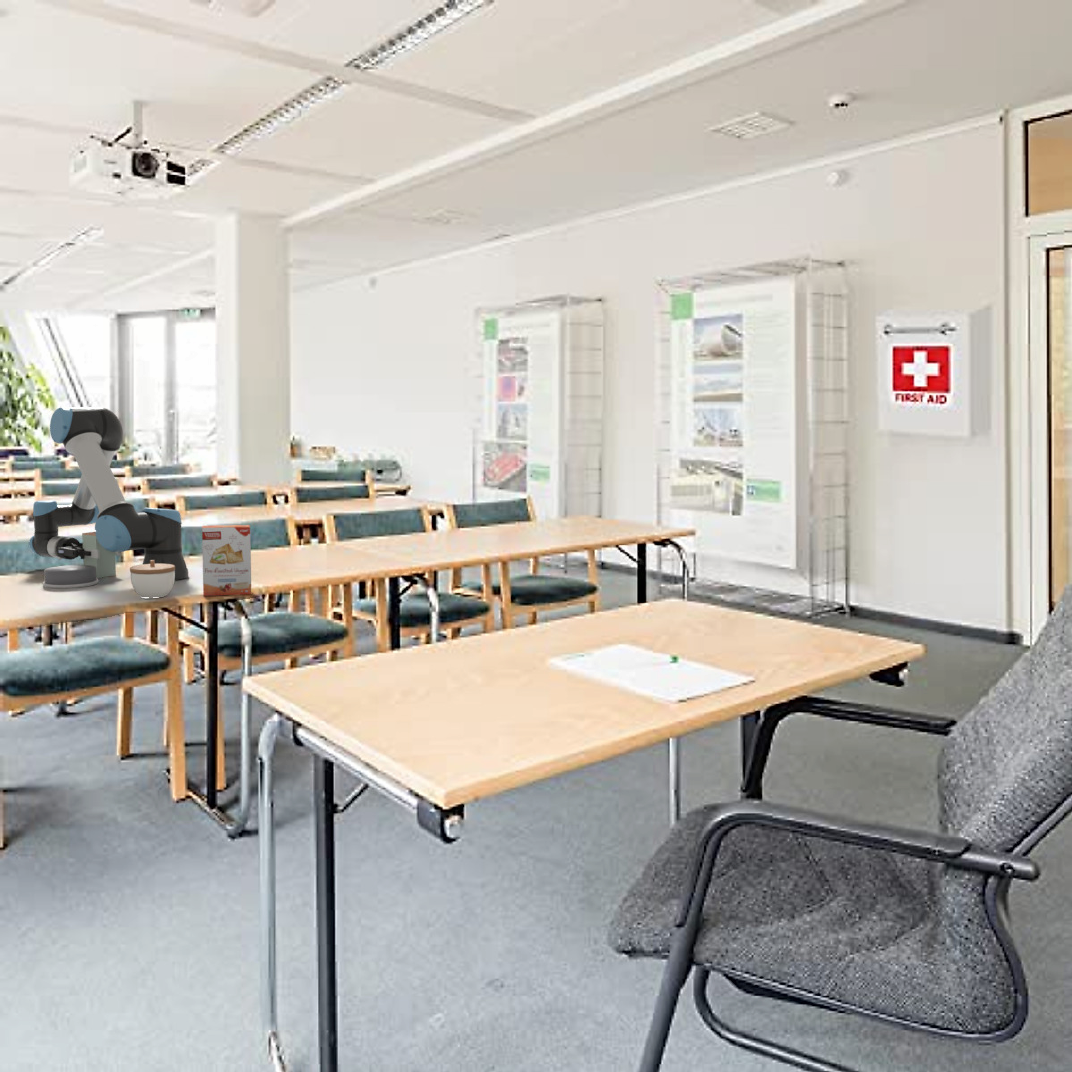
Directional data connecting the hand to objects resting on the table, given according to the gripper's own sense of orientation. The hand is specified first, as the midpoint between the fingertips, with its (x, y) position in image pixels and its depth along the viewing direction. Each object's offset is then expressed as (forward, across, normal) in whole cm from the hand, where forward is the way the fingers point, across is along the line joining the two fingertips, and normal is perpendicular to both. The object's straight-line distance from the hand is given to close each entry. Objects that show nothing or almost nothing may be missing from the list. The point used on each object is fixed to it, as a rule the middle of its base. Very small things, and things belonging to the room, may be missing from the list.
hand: (108, 552), depth 346 cm
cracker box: (+57, +2, -8) cm, 58 cm away
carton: (-5, 0, -8) cm, 9 cm away
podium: (+2, +16, -8) cm, 18 cm away
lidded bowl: (+42, +17, -8) cm, 46 cm away
